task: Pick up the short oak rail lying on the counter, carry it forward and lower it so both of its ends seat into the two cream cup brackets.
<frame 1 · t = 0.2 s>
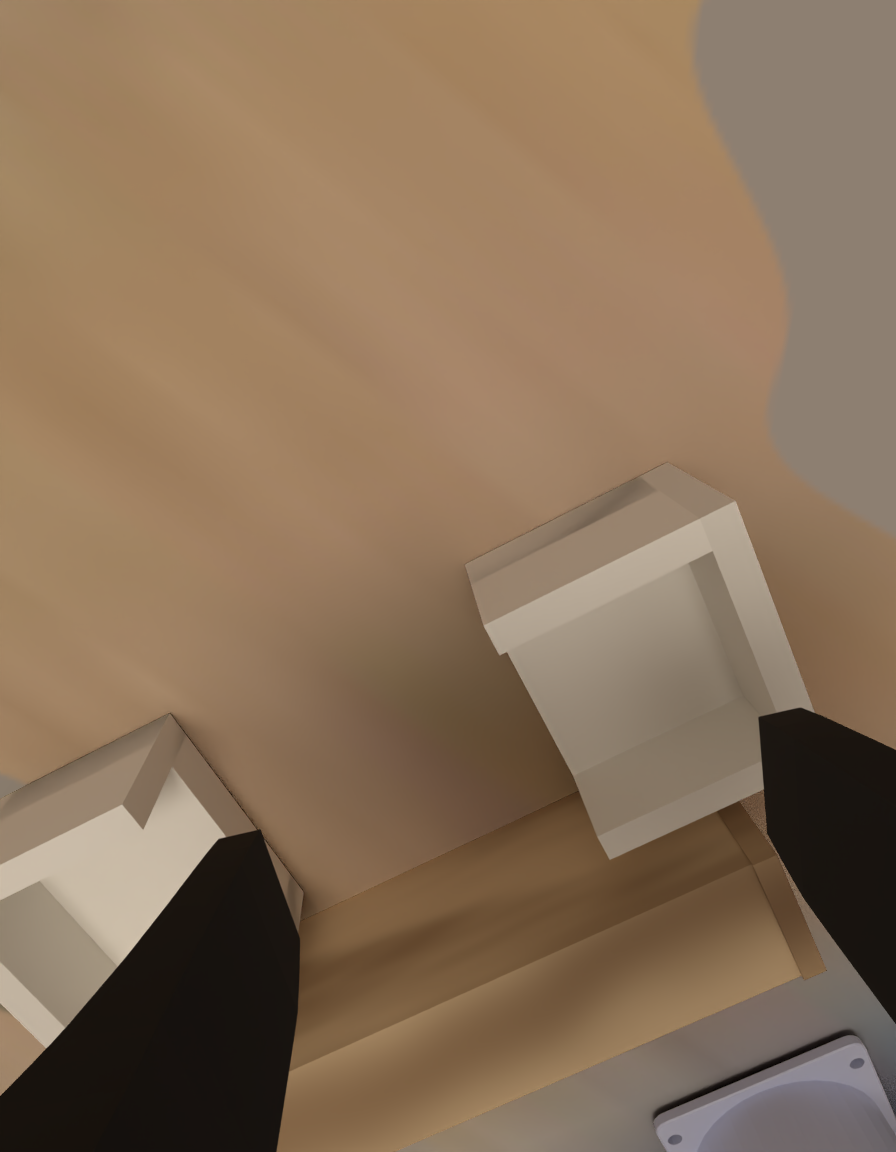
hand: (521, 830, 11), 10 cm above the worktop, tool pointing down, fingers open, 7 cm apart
oak rail: (478, 896, 24), on the worktop
cup bracket a: (603, 631, 21), on the worktop
cup bracket b: (165, 843, 22), on the worktop
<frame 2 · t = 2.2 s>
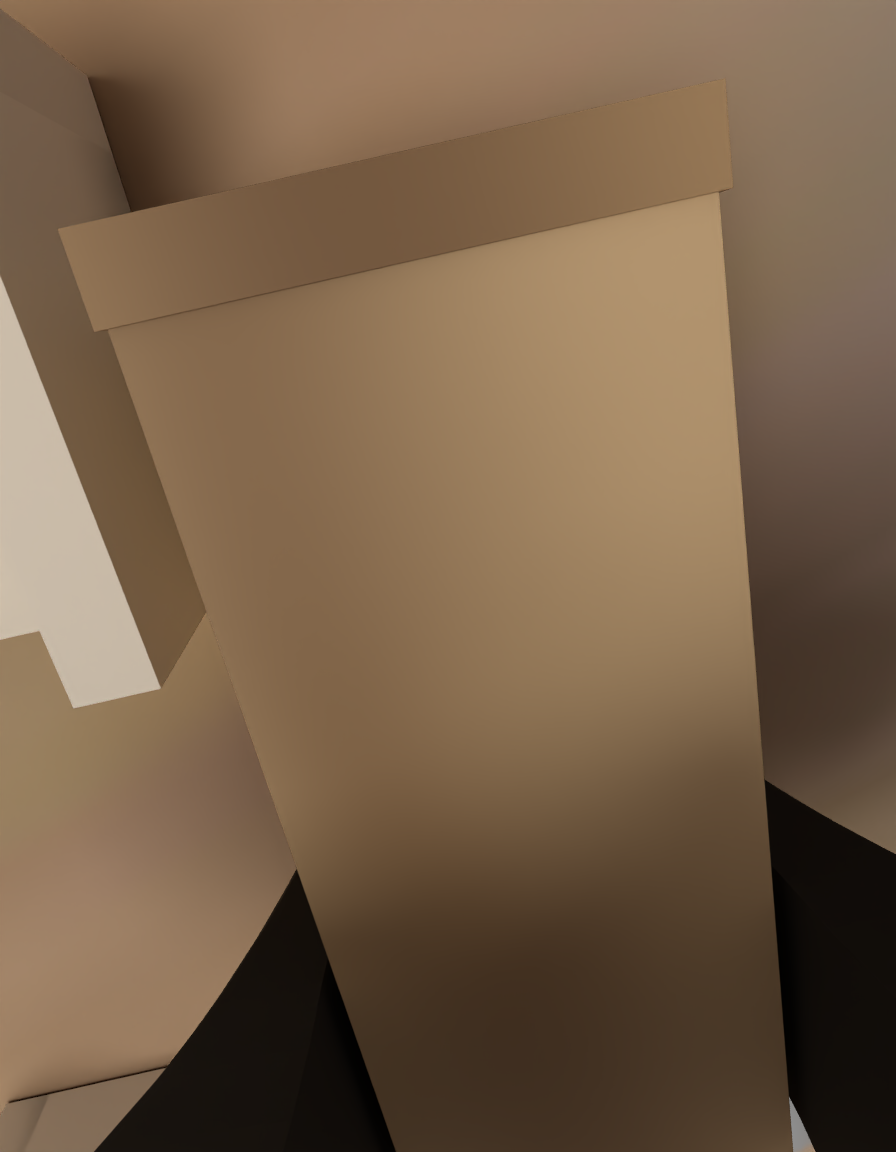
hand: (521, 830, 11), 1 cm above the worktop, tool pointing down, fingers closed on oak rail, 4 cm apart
oak rail: (506, 773, 12), on the worktop, touching gripper
cup bracket b: (240, 1151, 14), on the worktop
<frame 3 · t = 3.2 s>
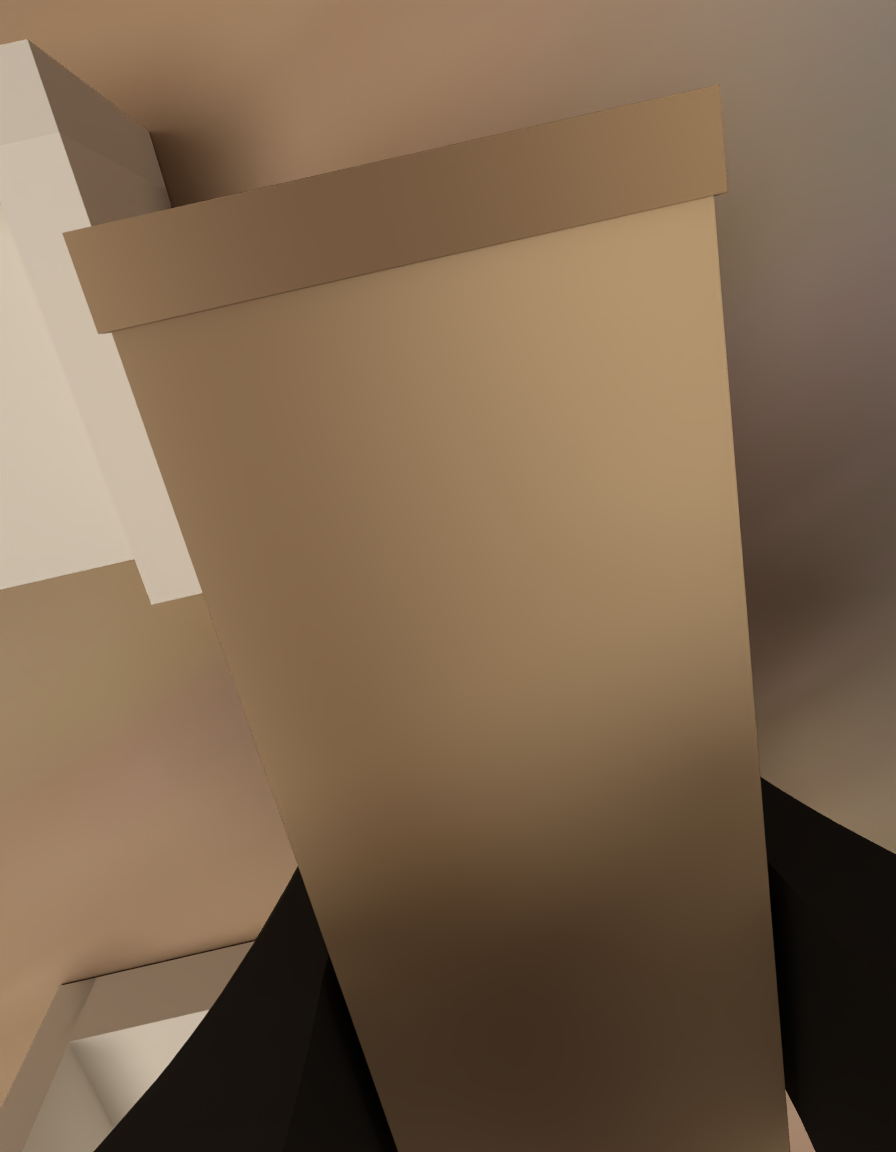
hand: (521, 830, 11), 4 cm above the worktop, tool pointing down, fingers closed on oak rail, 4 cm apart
oak rail: (506, 771, 12), point 3 cm above the worktop, touching gripper
cup bracket a: (2, 409, 12), on the worktop
cup bracket b: (257, 1032, 17), on the worktop
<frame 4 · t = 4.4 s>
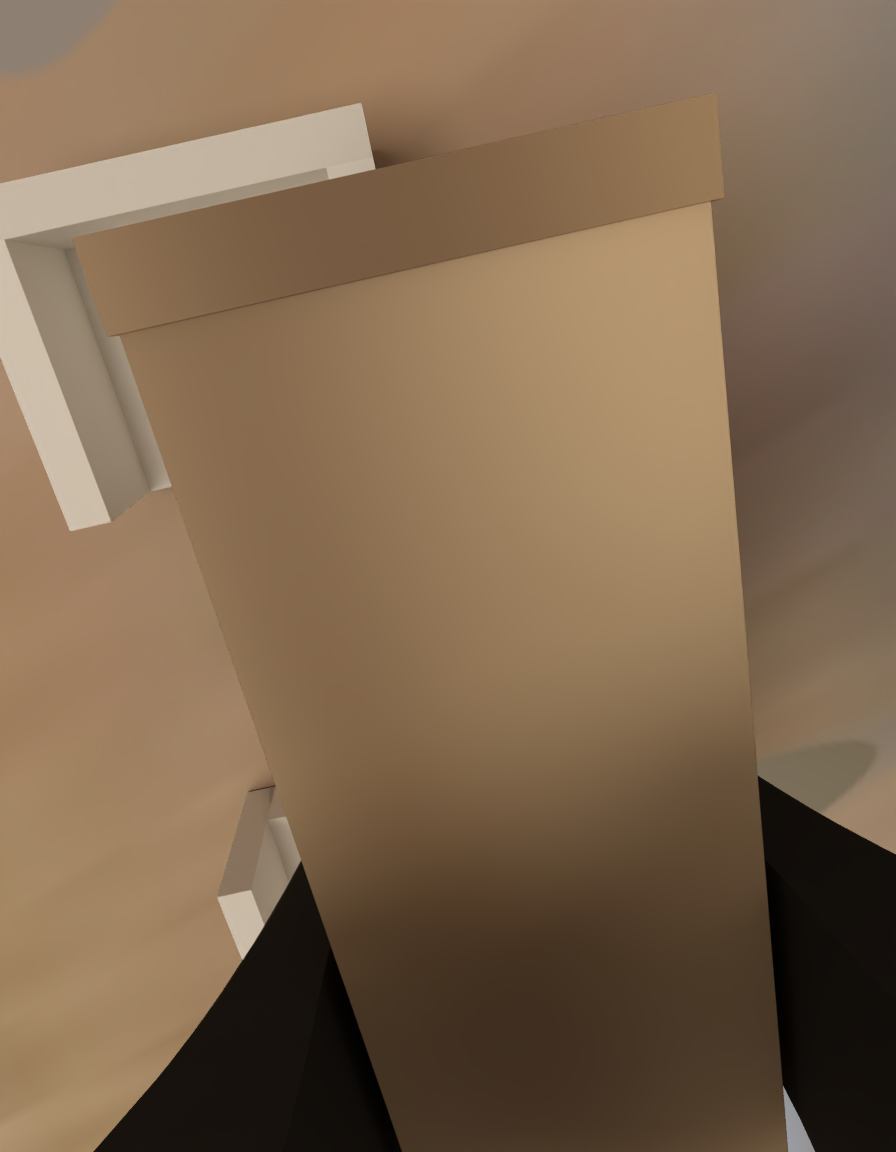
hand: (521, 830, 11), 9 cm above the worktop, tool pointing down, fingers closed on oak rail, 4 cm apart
oak rail: (506, 769, 12), point 8 cm above the worktop, touching gripper
cup bracket a: (250, 344, 17), on the worktop
cup bracket b: (392, 836, 22), on the worktop
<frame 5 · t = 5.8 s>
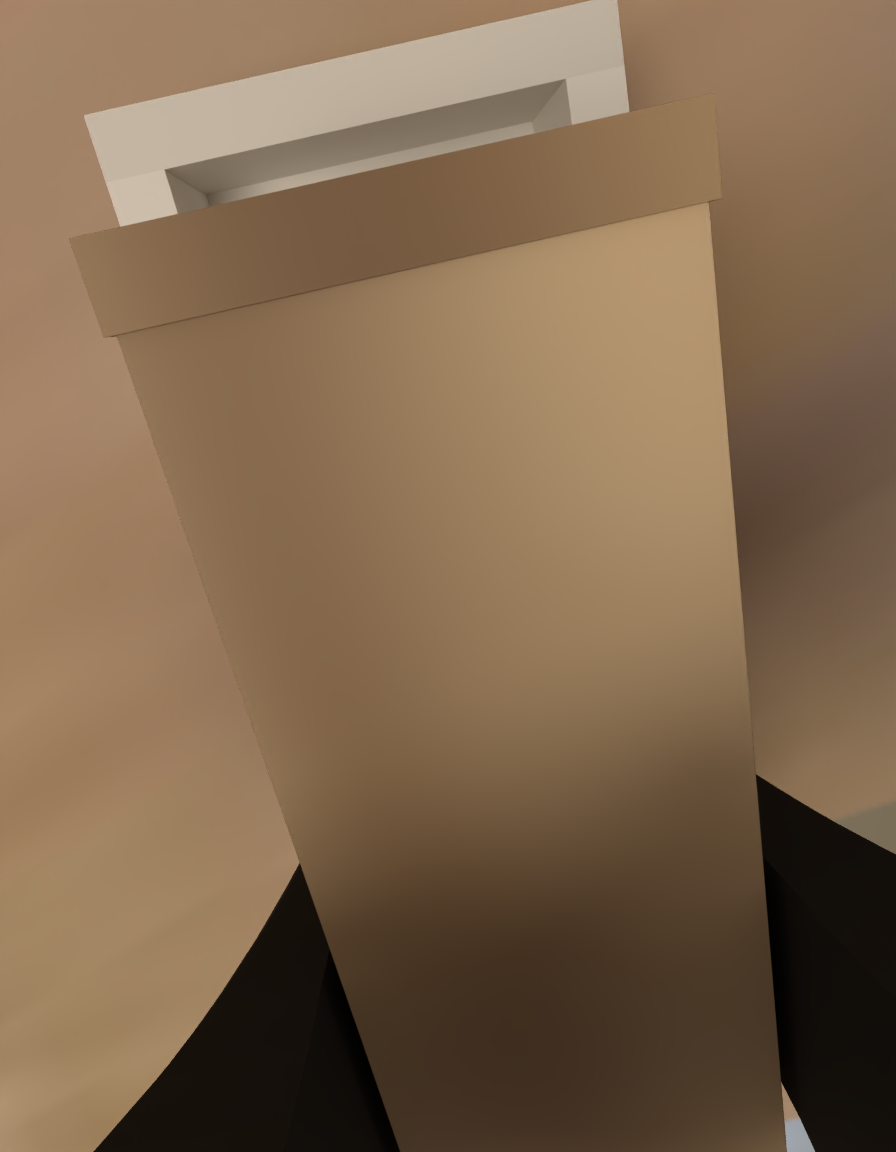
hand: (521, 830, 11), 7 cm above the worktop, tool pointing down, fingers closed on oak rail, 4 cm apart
oak rail: (505, 770, 12), point 5 cm above the worktop, touching gripper
cup bracket a: (402, 314, 15), on the worktop
when the fingers open (4 cm above the worktop, at t = 6.9 s): oak rail stays where it is, resting on cup bracket a, cup bracket b.
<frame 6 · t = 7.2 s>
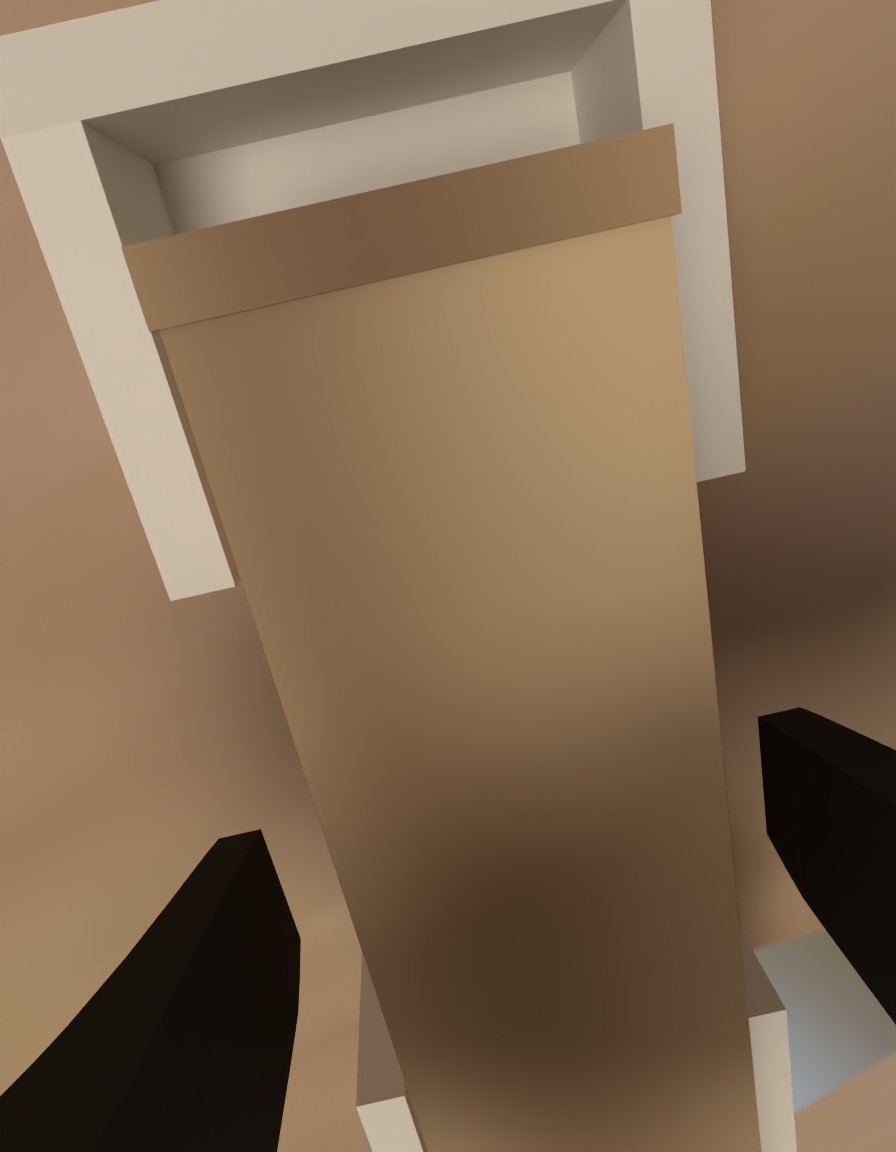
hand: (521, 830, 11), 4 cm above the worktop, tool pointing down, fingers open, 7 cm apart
oak rail: (500, 741, 13), point 1 cm above the worktop, touching cup bracket a, cup bracket b
cup bracket a: (404, 317, 12), on the worktop
cup bracket b: (547, 969, 17), on the worktop
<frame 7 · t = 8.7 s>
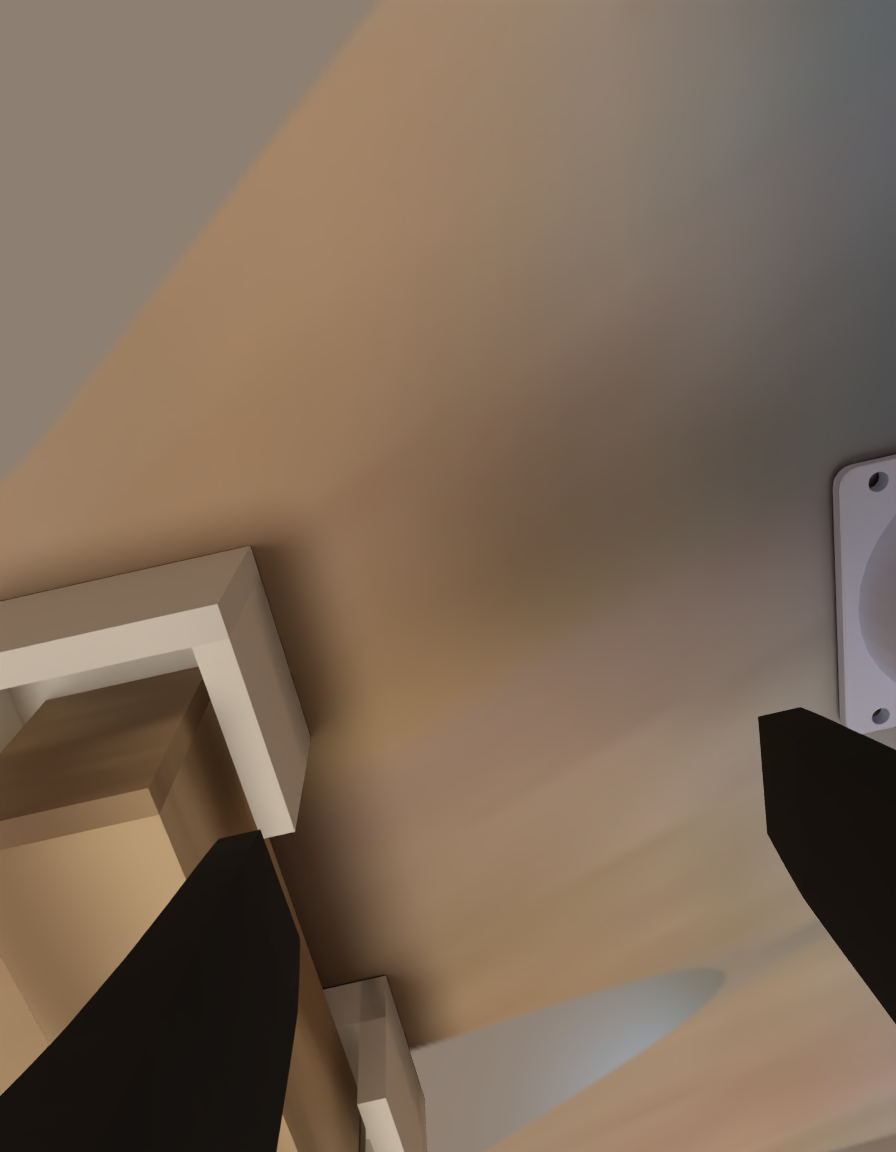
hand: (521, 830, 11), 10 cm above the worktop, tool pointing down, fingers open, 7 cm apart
oak rail: (226, 930, 21), point 1 cm above the worktop, touching cup bracket a, cup bracket b
cup bracket a: (157, 689, 20), on the worktop
cup bracket b: (298, 1054, 25), on the worktop
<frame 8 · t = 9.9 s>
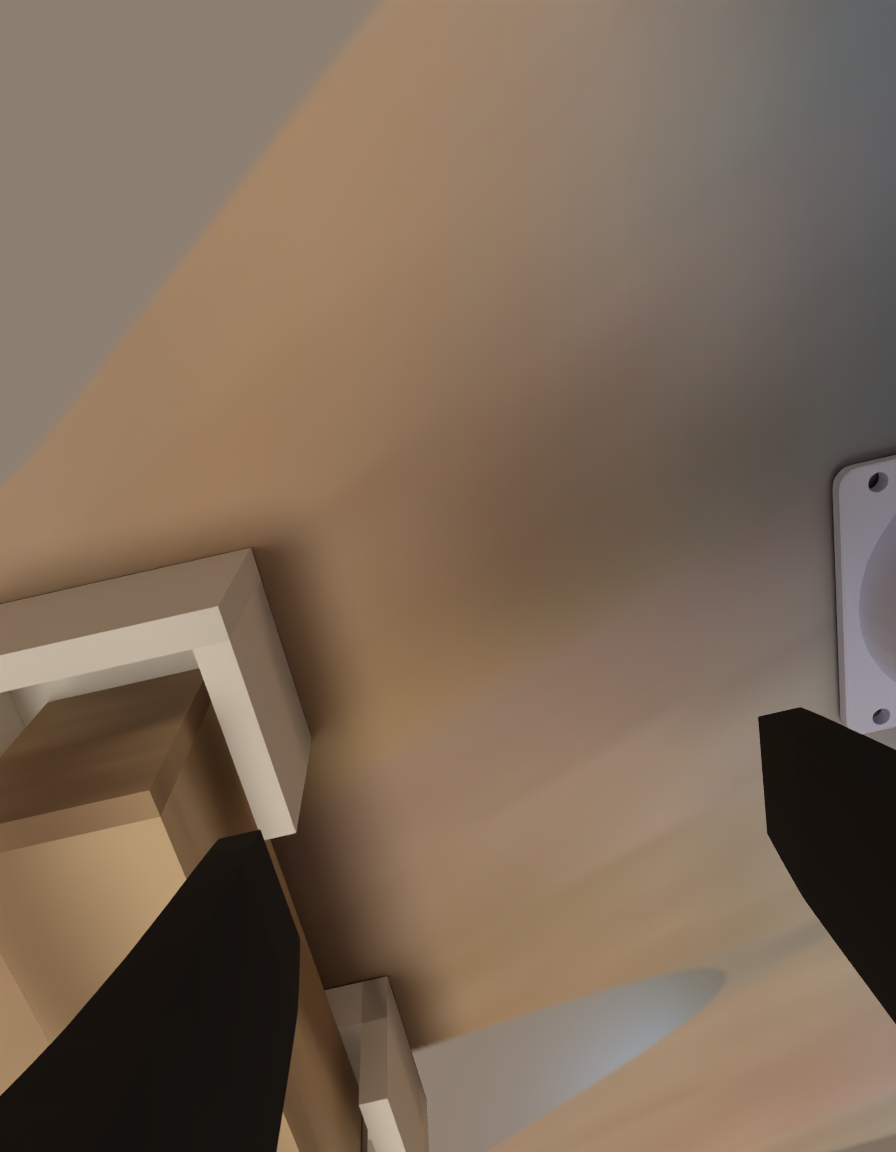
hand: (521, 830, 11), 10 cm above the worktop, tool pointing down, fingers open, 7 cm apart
oak rail: (228, 931, 21), point 1 cm above the worktop, touching cup bracket a, cup bracket b
cup bracket a: (158, 690, 20), on the worktop
cup bracket b: (300, 1055, 25), on the worktop
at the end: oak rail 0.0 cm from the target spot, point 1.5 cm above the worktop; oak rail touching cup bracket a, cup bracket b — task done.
